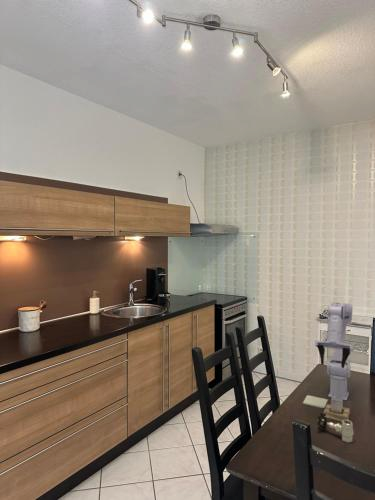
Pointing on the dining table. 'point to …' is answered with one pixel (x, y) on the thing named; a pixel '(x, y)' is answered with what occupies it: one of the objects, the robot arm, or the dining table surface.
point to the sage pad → (315, 401)
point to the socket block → (336, 415)
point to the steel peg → (337, 405)
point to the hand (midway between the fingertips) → (332, 365)
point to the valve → (337, 427)
